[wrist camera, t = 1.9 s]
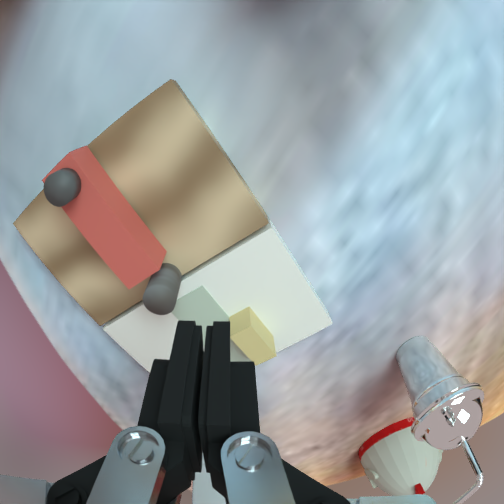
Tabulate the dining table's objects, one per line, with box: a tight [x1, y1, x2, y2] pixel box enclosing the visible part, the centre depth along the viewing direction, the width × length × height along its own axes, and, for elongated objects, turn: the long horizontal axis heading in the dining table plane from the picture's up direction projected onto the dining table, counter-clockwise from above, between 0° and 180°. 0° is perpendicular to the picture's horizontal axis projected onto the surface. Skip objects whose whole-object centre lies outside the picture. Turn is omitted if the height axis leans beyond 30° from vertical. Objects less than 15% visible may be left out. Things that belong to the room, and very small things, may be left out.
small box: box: [192, 454, 226, 504], centre depth 33 cm, size 8×6×13 cm
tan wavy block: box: [13, 79, 269, 326], centre depth 22 cm, size 13×18×5 cm
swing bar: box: [42, 146, 167, 289], centre depth 20 cm, size 10×3×4 cm, turn 32°
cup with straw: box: [396, 336, 484, 504], centre depth 25 cm, size 8×9×20 cm
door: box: [103, 219, 333, 373], centre depth 28 cm, size 11×18×4 cm, turn 122°
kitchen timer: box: [358, 417, 443, 496], centre depth 37 cm, size 14×14×15 cm
